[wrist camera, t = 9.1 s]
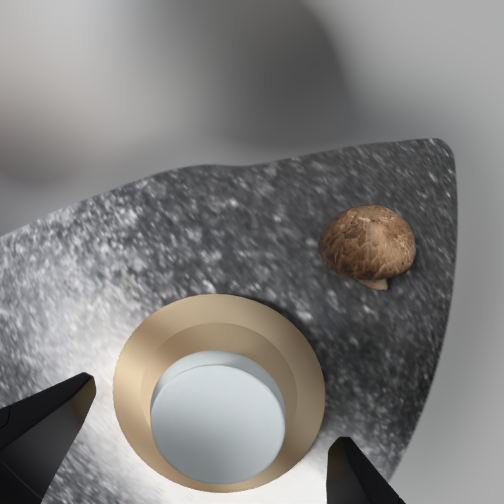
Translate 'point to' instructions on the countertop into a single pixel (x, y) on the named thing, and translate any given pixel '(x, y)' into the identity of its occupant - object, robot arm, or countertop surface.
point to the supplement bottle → (217, 417)
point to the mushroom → (368, 245)
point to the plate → (225, 339)
